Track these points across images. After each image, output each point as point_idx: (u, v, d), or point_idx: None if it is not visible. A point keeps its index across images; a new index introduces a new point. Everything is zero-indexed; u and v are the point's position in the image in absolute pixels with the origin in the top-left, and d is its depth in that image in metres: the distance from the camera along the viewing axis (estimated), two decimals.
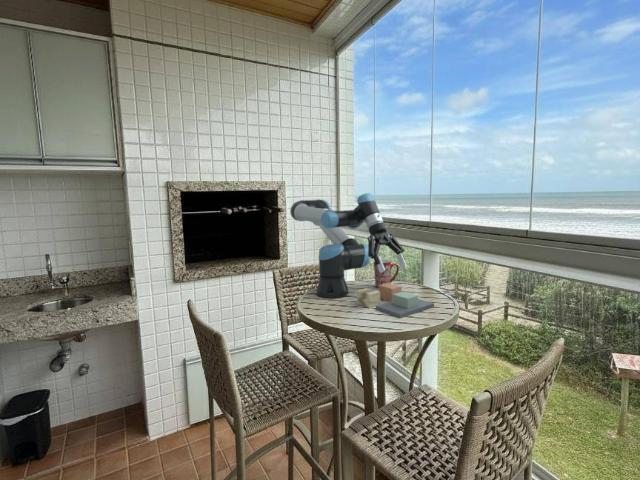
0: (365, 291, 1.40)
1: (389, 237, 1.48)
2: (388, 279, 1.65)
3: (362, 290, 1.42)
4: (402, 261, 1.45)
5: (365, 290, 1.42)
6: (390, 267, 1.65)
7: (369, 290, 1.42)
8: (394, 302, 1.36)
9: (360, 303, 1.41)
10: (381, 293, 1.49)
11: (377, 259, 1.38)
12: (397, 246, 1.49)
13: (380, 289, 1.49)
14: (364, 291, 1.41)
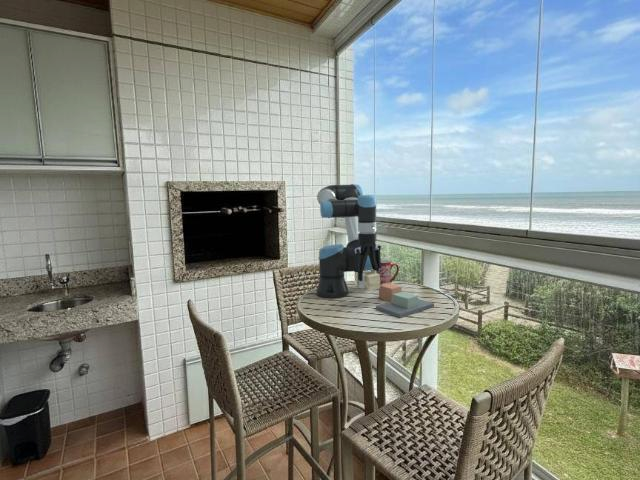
0: None
1: (375, 248, 1.41)
2: (388, 279, 1.65)
3: None
4: None
5: (365, 273, 1.41)
6: (390, 267, 1.65)
7: (369, 273, 1.41)
8: (394, 302, 1.36)
9: None
10: (381, 293, 1.49)
11: (361, 276, 1.37)
12: (377, 260, 1.42)
13: (380, 289, 1.49)
14: None
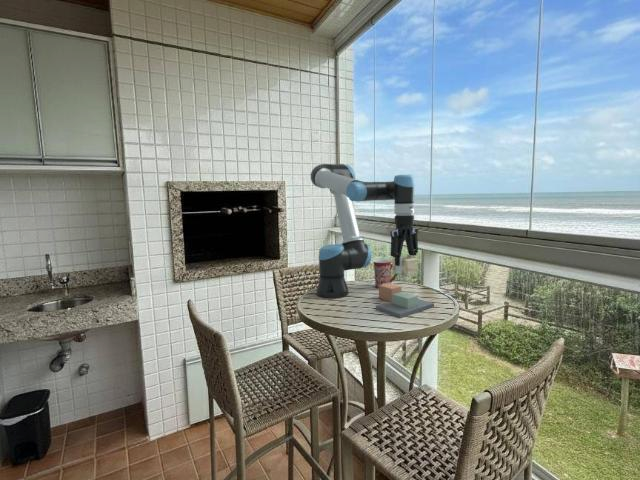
0: None
1: (412, 231, 1.34)
2: (388, 279, 1.65)
3: None
4: None
5: None
6: (390, 267, 1.65)
7: (405, 258, 1.34)
8: (394, 302, 1.36)
9: None
10: (381, 293, 1.49)
11: (398, 261, 1.30)
12: (413, 244, 1.35)
13: (380, 289, 1.49)
14: None
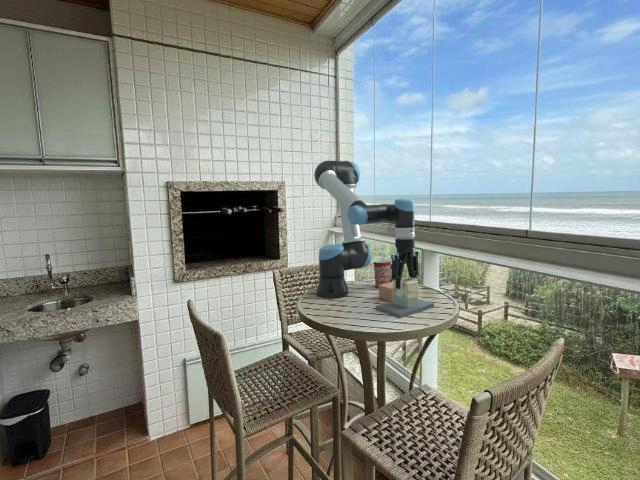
0: None
1: (413, 254, 1.35)
2: (388, 279, 1.65)
3: None
4: None
5: (402, 280, 1.35)
6: (390, 267, 1.65)
7: (406, 280, 1.35)
8: (394, 302, 1.36)
9: None
10: (381, 293, 1.49)
11: (399, 284, 1.31)
12: (414, 267, 1.36)
13: (380, 289, 1.49)
14: (401, 280, 1.34)
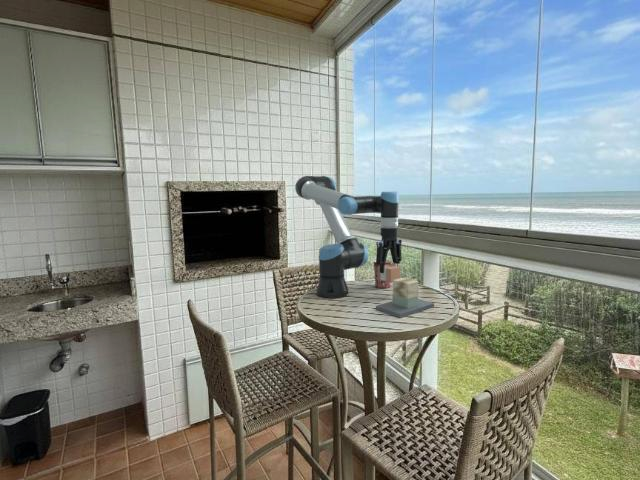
0: (402, 281, 1.33)
1: (396, 242, 1.48)
2: None
3: (399, 280, 1.35)
4: None
5: (402, 280, 1.35)
6: None
7: (406, 280, 1.35)
8: (394, 302, 1.36)
9: (397, 293, 1.34)
10: (380, 274, 1.48)
11: (382, 269, 1.44)
12: (397, 253, 1.49)
13: (379, 270, 1.48)
14: (401, 280, 1.34)
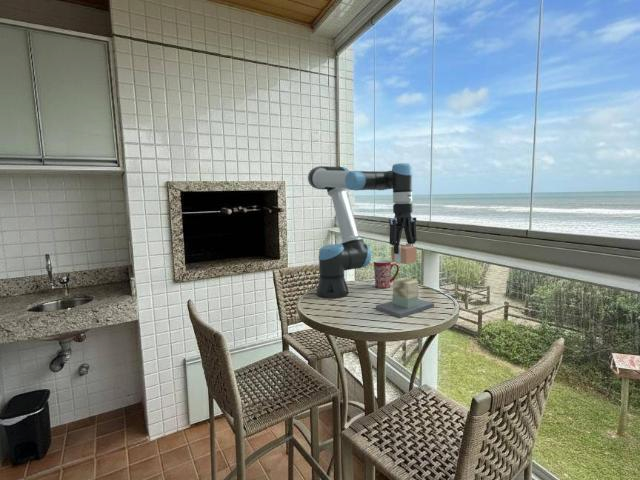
0: (402, 281, 1.33)
1: (411, 220, 1.35)
2: (388, 279, 1.65)
3: (399, 280, 1.35)
4: None
5: (402, 280, 1.35)
6: (390, 267, 1.65)
7: (406, 280, 1.35)
8: (394, 302, 1.36)
9: (397, 293, 1.34)
10: (394, 256, 1.34)
11: (397, 249, 1.31)
12: (412, 233, 1.36)
13: (393, 251, 1.35)
14: (401, 280, 1.34)
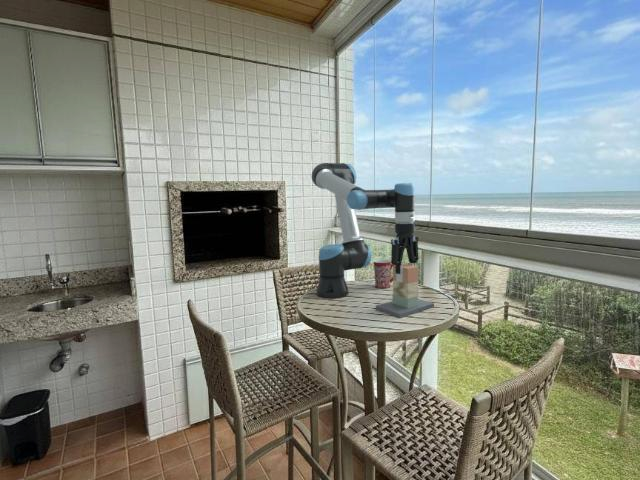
0: None
1: (413, 239, 1.34)
2: (388, 279, 1.65)
3: None
4: None
5: None
6: (390, 267, 1.65)
7: None
8: (394, 302, 1.36)
9: (397, 293, 1.34)
10: (395, 275, 1.34)
11: (399, 269, 1.30)
12: (414, 252, 1.35)
13: (394, 270, 1.34)
14: None
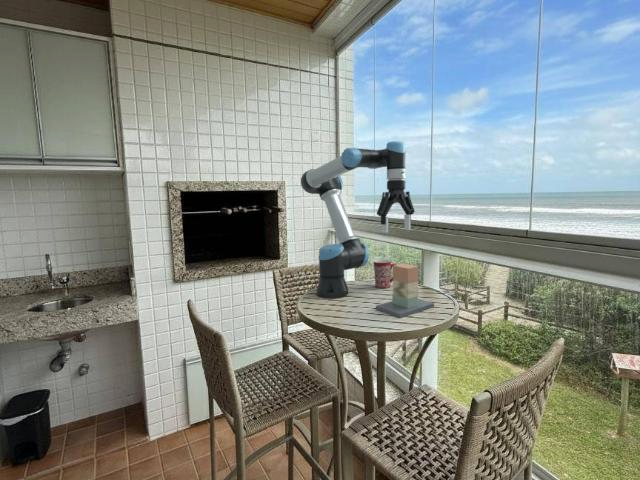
0: None
1: (404, 195, 1.41)
2: (388, 279, 1.65)
3: None
4: (407, 223, 1.43)
5: None
6: (390, 267, 1.65)
7: None
8: (394, 302, 1.36)
9: (397, 293, 1.34)
10: (395, 275, 1.34)
11: (384, 220, 1.35)
12: (409, 206, 1.43)
13: (394, 270, 1.34)
14: None
